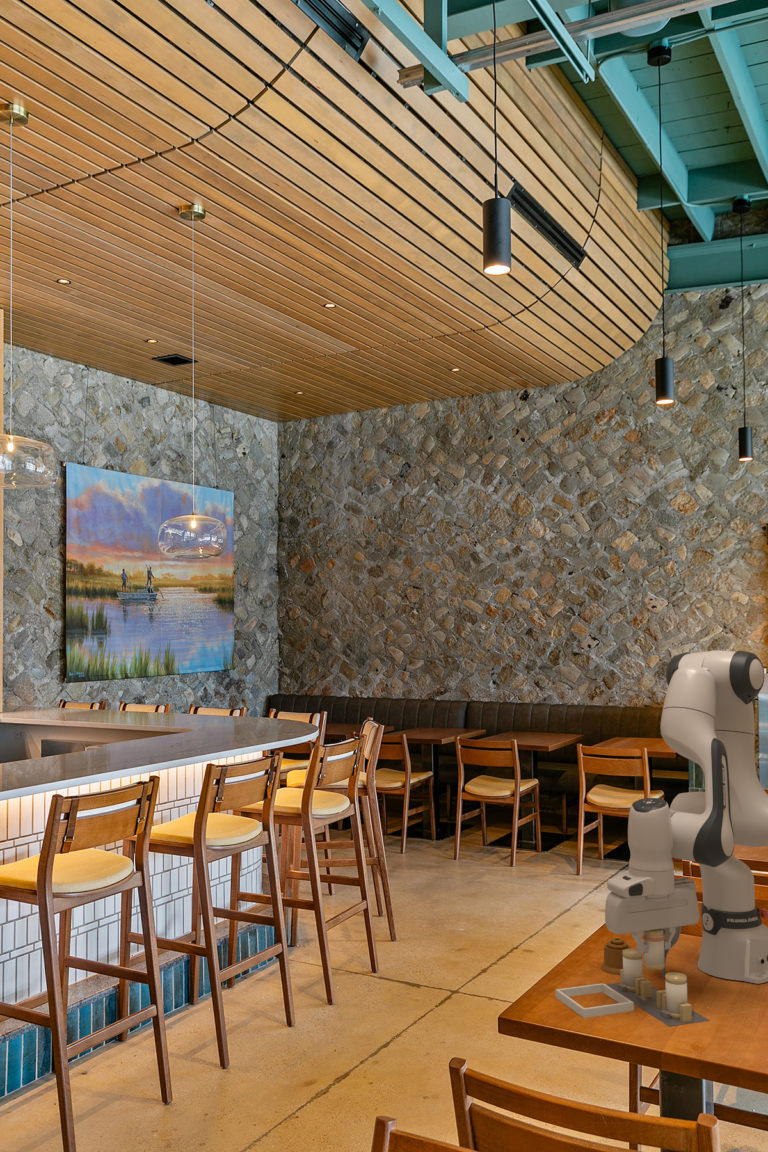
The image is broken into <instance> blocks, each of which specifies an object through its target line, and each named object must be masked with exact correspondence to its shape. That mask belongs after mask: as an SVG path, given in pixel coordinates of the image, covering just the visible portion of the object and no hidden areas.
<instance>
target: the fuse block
mask: <svg viewBox="0 0 768 1152" xmlns="http://www.w3.org/2000/svg"><path fill="white" fill-rule="evenodd" d="M619 979H620V981H619V982H615V983H607V984H606V983H605V984H606V985H607V986H609V987H610V988H612V989H613V990H615V991H617V992H618V993H620V994H621V995H623V996H624V997H626V998H628V999H629V1000H631V1001H632V1002H634V1006H636V1007H638V1008H639V1009H641V1010H643V1011H644V1012H645V1013H648V1014H649V1015H651V1016H652V1017H653V1018H655V1019H656V1020H658V1021H659V1022H660V1023H661V1022H662V1023H663V1024H665V1025H666V1026H668V1027H671V1028H672V1027H677V1026H683V1025H690V1024H698V1023H704V1022H710V1020H711V1019H708V1018H707V1017H705V1016H703V1015H701V1014H700V1013H698V1012H696V1011H695V1010H694V1009H693V1008H692V1004H690V1003H689V1002H688V1003H687V1004H680V1005H679V1006H680V1020H677V1019H672V1018H670V1013H668V1012H666V989H660V990H659V989H658V988H656V987H654V986H653V983H652V981H651V980H647V978H645V977H644V976H643V977H641V978H635V992H629V991H626V986H624V985H623V969H620V975H619Z"/></svg>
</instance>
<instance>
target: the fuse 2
mask: <svg viewBox="0 0 768 1152" xmlns="http://www.w3.org/2000/svg"><path fill="white" fill-rule="evenodd" d="M664 978H665V979H664V982H665V990H666V1012H668V1013H670V1018H672V1019H677V1020H680V1006H679V1005H680V1004H687V1003H689V1002H688V977H687V974H684V973H681V972H675V971H674V972H673V971H670V972H665V977H664Z"/></svg>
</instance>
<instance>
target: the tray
mask: <svg viewBox="0 0 768 1152" xmlns="http://www.w3.org/2000/svg"><path fill="white" fill-rule="evenodd" d="M554 993H555V998H556V999H557V1000H558V1001H559V1002H561V1003H563V1004H564V1005H565V1006H566V1007H568V1008H569V1009H571V1010H572V1011H574V1012H575V1014H577V1015H579V1016H580V1017H581V1018H583V1019H586V1018H593V1017H599V1016H600V1017H601V1016H607V1015H614V1014H620V1013H621V1014H622V1013H629V1012H633V1011H634V1012H635V1004H634V1002H632V1001H631V1000H629V999H628V998H626V997H624V996H623V995H621V994H620V993H618V992H617V991H615V990H613V989H612V988H610V987H609V986H607V985H606V983H604V982H603V983H594V984H587V985H586V984H585V985H579V986H572V987H564V988H558V989H555V992H554ZM600 993H603V994H605V995H607V996H608V997H609V998H611V999H613V1000H614V1001H615V1002H617V1003H612V1004H604V1005H597V1006H591V1007H584V1006H582V1005H581V1004H579V1003H578V1002H577V1001H576V1000H574V999H572V997H578V996H586V995H591V994H592V995H593V994H600Z"/></svg>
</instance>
